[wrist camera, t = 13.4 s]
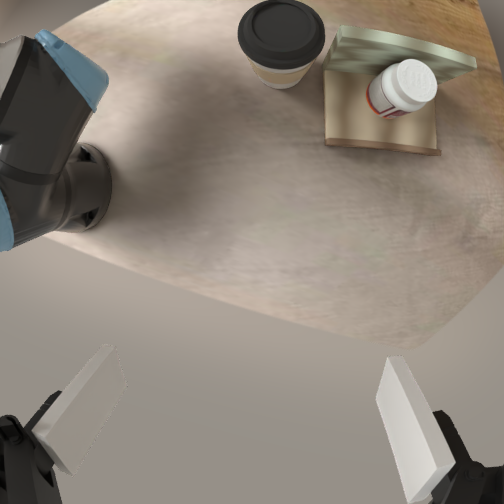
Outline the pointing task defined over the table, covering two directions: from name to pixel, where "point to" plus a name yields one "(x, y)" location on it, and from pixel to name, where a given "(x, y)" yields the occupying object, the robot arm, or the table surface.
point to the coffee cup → (281, 40)
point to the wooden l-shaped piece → (363, 72)
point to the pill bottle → (401, 89)
